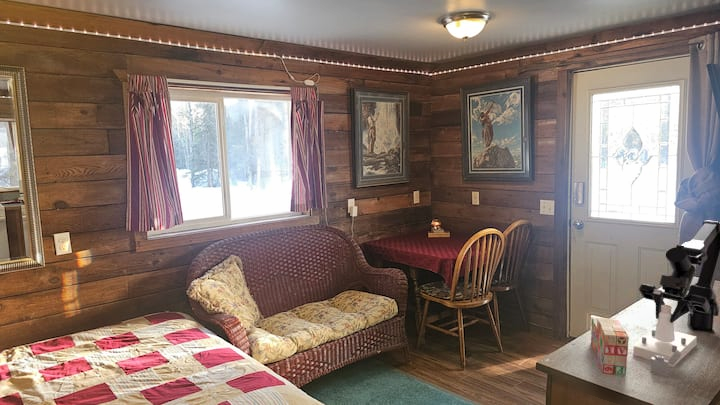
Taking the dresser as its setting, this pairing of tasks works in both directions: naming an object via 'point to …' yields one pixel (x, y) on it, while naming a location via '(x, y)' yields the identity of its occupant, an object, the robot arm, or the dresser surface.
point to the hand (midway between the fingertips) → (663, 320)
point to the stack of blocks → (610, 345)
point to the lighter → (663, 363)
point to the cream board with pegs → (664, 346)
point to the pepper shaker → (665, 325)
